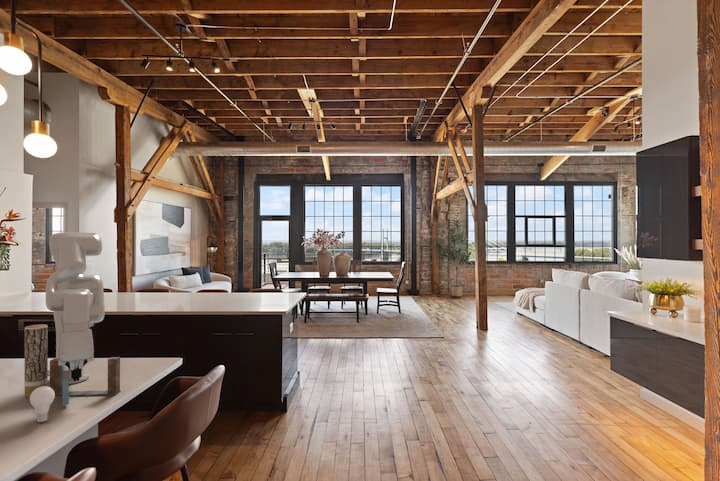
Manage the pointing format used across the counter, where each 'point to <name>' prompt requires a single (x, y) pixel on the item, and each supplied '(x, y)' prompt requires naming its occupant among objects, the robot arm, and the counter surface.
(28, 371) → the wooden log
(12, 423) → the counter surface
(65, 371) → the gate
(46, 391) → the lightbulb
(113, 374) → the gate frame
